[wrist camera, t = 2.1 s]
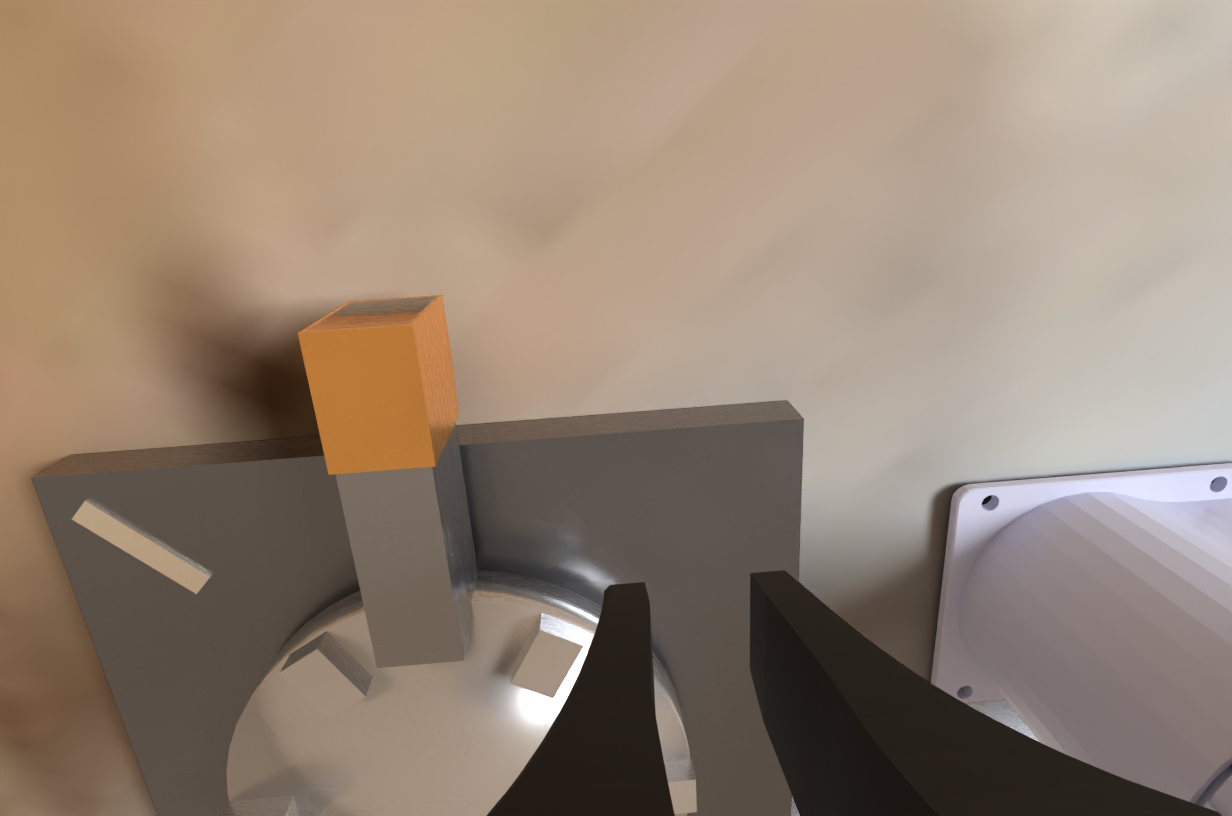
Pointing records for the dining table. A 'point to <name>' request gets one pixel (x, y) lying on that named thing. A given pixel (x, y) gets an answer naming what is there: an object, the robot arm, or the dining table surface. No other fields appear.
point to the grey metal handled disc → (413, 611)
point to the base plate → (503, 541)
